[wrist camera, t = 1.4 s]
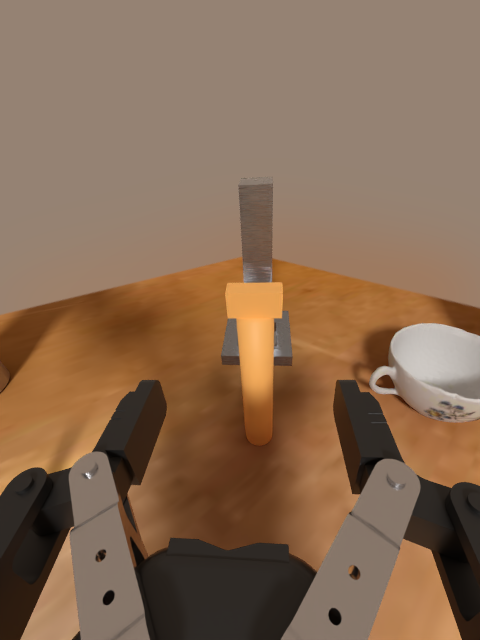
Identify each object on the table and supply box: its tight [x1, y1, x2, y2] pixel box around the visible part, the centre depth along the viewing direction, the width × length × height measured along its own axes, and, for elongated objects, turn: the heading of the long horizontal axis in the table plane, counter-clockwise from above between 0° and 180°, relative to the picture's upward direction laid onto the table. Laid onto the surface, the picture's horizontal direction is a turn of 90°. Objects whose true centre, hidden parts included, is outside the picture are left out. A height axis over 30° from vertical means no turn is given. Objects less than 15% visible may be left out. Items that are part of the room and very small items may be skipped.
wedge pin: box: [225, 282, 283, 446], centre depth 29 cm, size 4×3×20 cm
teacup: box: [369, 323, 480, 422], centre depth 35 cm, size 15×12×8 cm
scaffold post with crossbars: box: [221, 177, 292, 366], centre depth 44 cm, size 28×9×24 cm, turn 176°
